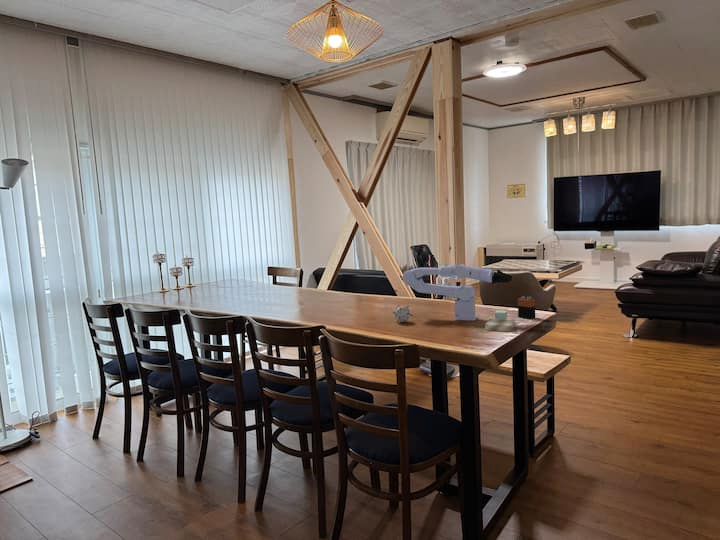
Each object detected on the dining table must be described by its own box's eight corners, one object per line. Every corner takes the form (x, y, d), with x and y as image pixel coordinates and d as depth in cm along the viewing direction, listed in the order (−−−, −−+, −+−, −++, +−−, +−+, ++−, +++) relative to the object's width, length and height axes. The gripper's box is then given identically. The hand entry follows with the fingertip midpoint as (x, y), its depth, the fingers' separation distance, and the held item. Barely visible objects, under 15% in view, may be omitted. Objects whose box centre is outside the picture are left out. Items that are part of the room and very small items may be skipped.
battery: (530, 319, 232) (529, 298, 231) (517, 317, 238) (517, 296, 237) (535, 318, 235) (535, 296, 234) (523, 316, 240) (523, 295, 239)
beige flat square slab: (485, 331, 216) (484, 324, 216) (489, 325, 226) (489, 318, 226) (511, 332, 212) (511, 325, 212) (514, 326, 222) (514, 319, 222)
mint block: (495, 323, 228) (495, 312, 228) (496, 321, 232) (496, 310, 232) (505, 323, 226) (505, 312, 226) (507, 321, 231) (506, 310, 230)
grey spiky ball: (406, 329, 240) (418, 312, 240) (400, 326, 233) (413, 309, 232) (392, 318, 244) (404, 301, 244) (386, 316, 237) (398, 298, 236)
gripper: (478, 266, 227) (509, 271, 222) (485, 264, 240) (514, 269, 235) (476, 282, 228) (507, 287, 223) (482, 279, 241) (511, 284, 236)
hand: (510, 279), depth 229 cm, fingers open, 7 cm apart
